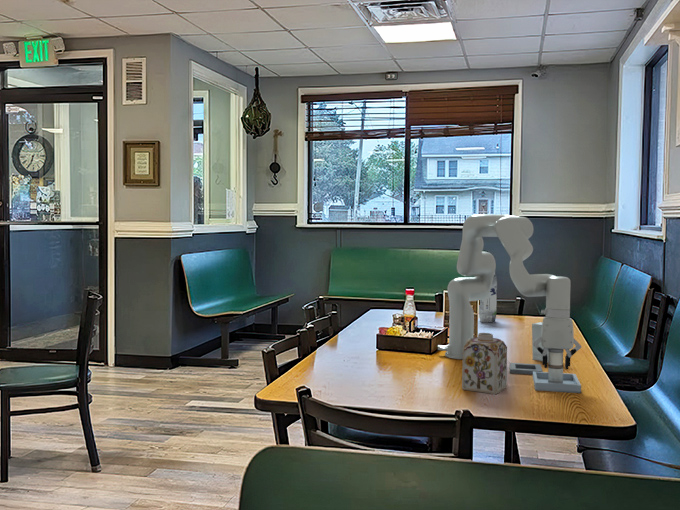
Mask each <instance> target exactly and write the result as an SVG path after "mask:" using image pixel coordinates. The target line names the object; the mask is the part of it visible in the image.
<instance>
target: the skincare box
mask: <svg viewBox="0 0 680 510" xmlns="http://www.w3.org/2000/svg"><path fill="white" fill-rule="evenodd" d="M542 323H543V321H542V322H541V321H539V322H535V323H534V322H533V323H532V324H531V331H532V332H531V333H532V334H531V336H532V337H531V342H532V346H531V347H532V348H531V349H532V350H531V351H532V360H533V361H539V362H542V361H543V355H542V354H541V353H540V352H539V351H538V350H537V349H536V348H535V347H534V346H533V342H534V341H536V340H537V339H538V338H539V337H540V336H541V330H542ZM538 345H539V346H540V347H541V348H542V349H543V348H544V347H542V345H541V342H540V343H539V344H538ZM547 357H548V359H547V364H548V363H549V351H547Z"/></svg>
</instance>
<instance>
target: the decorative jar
mask: <svg viewBox="0 0 680 510" xmlns="http://www.w3.org/2000/svg"><path fill="white" fill-rule="evenodd" d="M477 335H478V336H477V337H473V338H471V339H468V340H467V342H466V344H465V346H464V348H463V359H462V372H461V373H462V374H461V389H462V390H463V391H469V392H476V393H482V394H490V395H497V394H498V393H500V392H501V391H503V390H504V389H505V388H507V386H508V385H507V383H508V382H507V381H508V380H507V379H508V346H507V344H506V343H505V341H504V340H502V339H500V338H496V337H494V336H493V335H494V334H493V333H489V332H478V334H477Z"/></svg>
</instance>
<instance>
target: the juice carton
mask: <svg viewBox="0 0 680 510" xmlns="http://www.w3.org/2000/svg"><path fill="white" fill-rule="evenodd" d="M497 293H498V279H497V274H496V272H495V273H494V277H493V282H492V286H491V290H490V293H489V295H488V297H487V298H486V299H484V300H480V305H479V304H478V317H479V321H480V323H488V322H494V323H495V322H496V319H497V303H498V302H497V301H498V299H497V296H498V294H497Z"/></svg>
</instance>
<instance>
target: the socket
mask: <svg viewBox="0 0 680 510" xmlns="http://www.w3.org/2000/svg"><path fill="white" fill-rule="evenodd" d="M533 371H534V372H544V371H543V368H542V364H539V363H538V364H537V363H521V362H509V374H515V375H516V374H517V375H529V376H531V375H532V376H533Z"/></svg>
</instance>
